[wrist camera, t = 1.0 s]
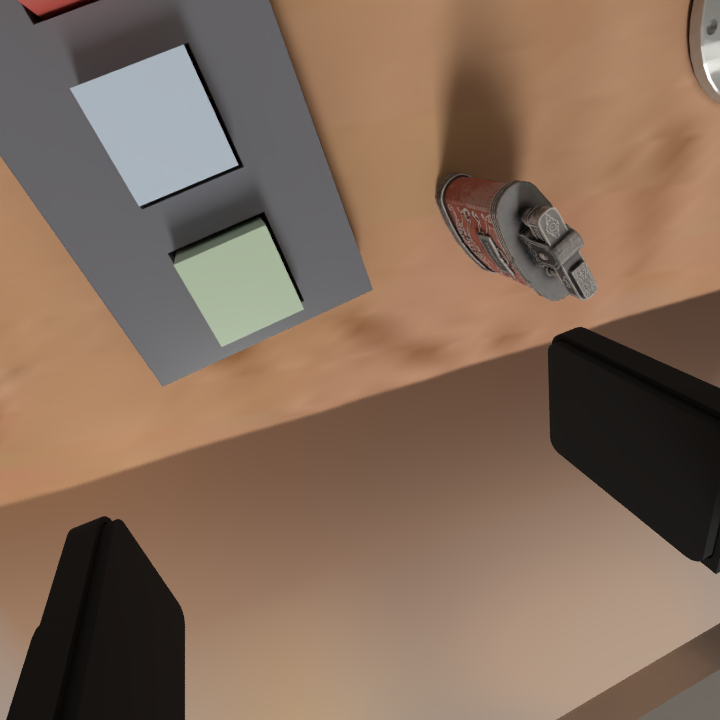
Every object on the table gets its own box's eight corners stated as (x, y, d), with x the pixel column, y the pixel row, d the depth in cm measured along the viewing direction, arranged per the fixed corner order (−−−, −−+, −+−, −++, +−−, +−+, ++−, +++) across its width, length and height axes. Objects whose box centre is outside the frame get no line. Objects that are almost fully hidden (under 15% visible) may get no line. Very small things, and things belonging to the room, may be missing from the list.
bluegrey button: (186, 57, 22) (183, 44, 19) (234, 162, 25) (238, 165, 22) (88, 95, 22) (69, 88, 19) (147, 198, 24) (139, 206, 21)
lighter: (424, 196, 30) (512, 219, 22) (462, 160, 30) (566, 167, 21) (483, 280, 34) (577, 328, 26) (518, 249, 34) (624, 285, 25)
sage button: (259, 215, 26) (265, 225, 23) (293, 291, 29) (304, 309, 26) (177, 250, 26) (173, 265, 23) (219, 325, 28) (221, 347, 25)
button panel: (171, -232, 19) (165, -289, 17) (358, 277, 31) (372, 289, 29) (-165, -123, 18) (-228, -168, 15) (166, 365, 30) (162, 386, 27)
